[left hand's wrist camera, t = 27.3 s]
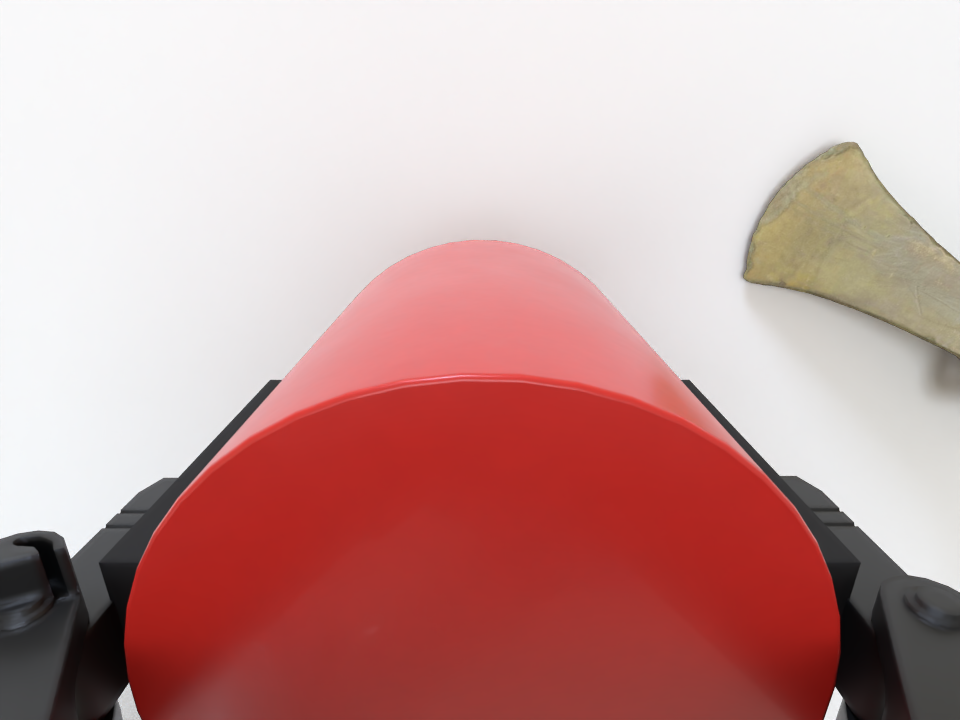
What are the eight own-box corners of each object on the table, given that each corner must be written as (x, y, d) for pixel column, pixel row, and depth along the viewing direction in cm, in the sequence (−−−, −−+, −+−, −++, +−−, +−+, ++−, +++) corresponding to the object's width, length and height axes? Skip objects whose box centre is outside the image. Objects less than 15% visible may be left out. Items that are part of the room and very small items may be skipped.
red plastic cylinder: (281, 454, 16) (50, 799, 8) (403, 176, 14) (263, 210, 5) (539, 563, 18) (597, 958, 9) (698, 332, 15) (1008, 579, 6)
